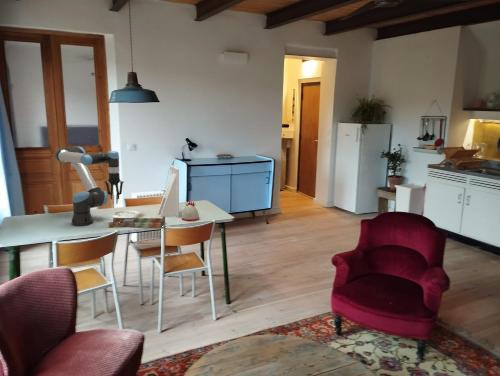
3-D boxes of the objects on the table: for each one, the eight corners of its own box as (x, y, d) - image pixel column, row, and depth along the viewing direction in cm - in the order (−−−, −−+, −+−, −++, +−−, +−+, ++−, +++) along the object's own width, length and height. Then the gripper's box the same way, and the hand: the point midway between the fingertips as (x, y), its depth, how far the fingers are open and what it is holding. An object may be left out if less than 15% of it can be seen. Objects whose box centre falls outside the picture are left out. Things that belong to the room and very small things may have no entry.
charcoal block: (122, 226, 304) (122, 221, 303) (125, 223, 311) (125, 218, 310) (132, 226, 304) (132, 221, 303) (134, 223, 311) (134, 218, 310)
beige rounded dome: (195, 222, 320) (195, 203, 318) (179, 220, 323) (179, 202, 320) (201, 217, 334) (201, 199, 331) (185, 216, 336) (185, 198, 334)
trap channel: (108, 227, 299) (108, 220, 298) (113, 222, 314) (113, 215, 313) (162, 227, 302) (162, 221, 301) (165, 222, 316) (164, 216, 316)
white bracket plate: (155, 212, 343) (154, 166, 335) (172, 211, 350) (171, 165, 342) (161, 219, 326) (161, 169, 318) (179, 217, 332) (178, 169, 324)
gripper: (101, 173, 295) (103, 204, 299) (123, 173, 296) (124, 204, 300) (104, 171, 302) (106, 202, 307) (125, 171, 303) (126, 202, 308)
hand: (115, 203), depth 303 cm, fingers open, 2 cm apart
